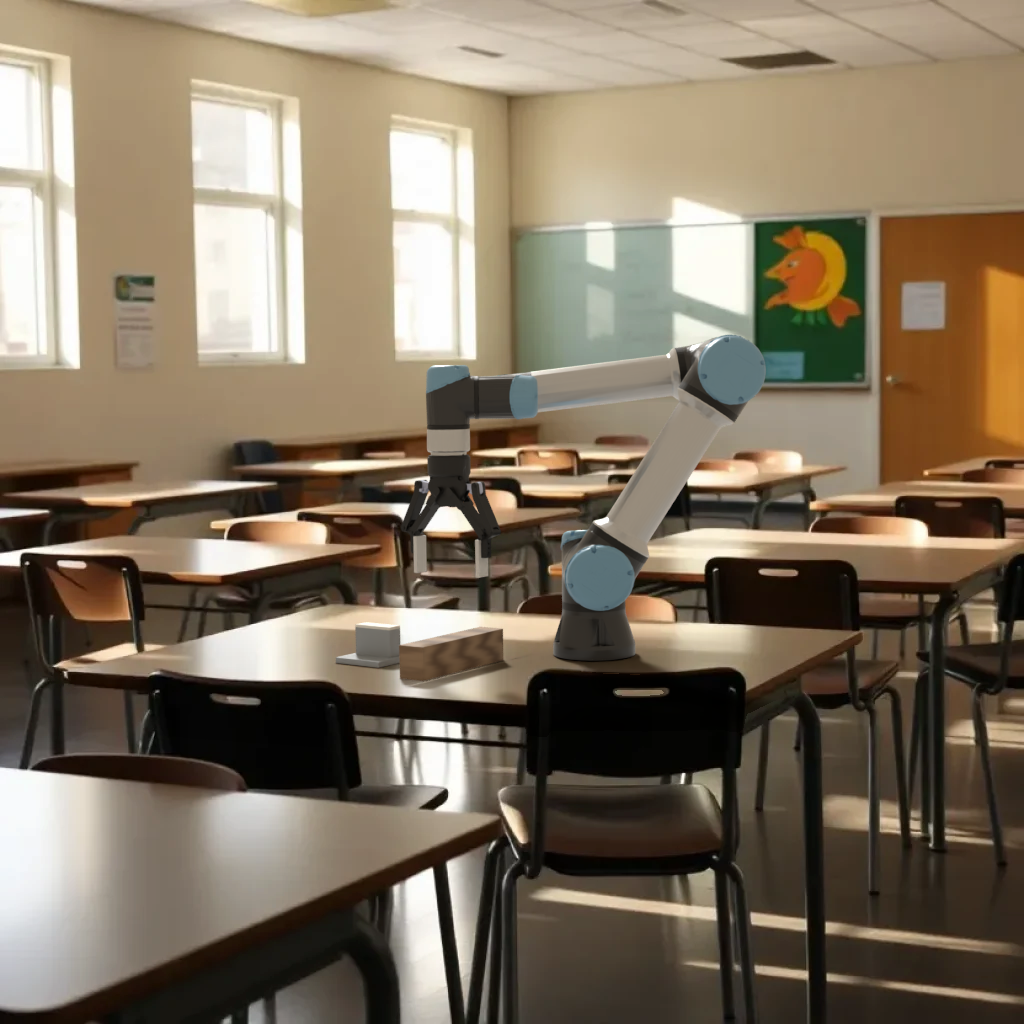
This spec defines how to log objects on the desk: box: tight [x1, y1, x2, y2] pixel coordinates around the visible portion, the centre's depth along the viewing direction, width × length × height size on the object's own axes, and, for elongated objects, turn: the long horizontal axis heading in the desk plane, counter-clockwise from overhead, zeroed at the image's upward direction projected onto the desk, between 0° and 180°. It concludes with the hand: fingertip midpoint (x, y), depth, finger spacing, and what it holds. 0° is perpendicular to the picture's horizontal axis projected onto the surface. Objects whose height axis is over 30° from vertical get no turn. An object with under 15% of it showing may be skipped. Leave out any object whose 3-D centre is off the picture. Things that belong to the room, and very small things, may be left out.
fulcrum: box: [335, 621, 401, 669], centre depth 314 cm, size 10×12×6 cm
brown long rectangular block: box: [399, 626, 504, 682], centre depth 305 cm, size 24×5×6 cm, turn 146°
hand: (450, 574), depth 304 cm, fingers open, 13 cm apart
